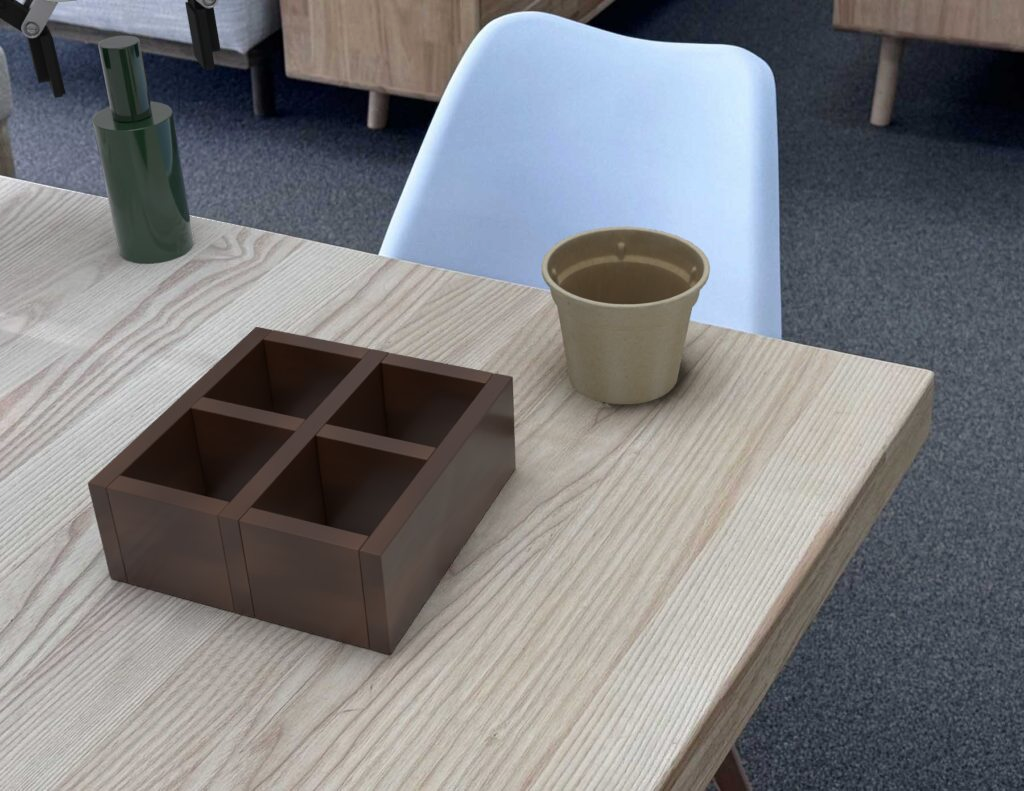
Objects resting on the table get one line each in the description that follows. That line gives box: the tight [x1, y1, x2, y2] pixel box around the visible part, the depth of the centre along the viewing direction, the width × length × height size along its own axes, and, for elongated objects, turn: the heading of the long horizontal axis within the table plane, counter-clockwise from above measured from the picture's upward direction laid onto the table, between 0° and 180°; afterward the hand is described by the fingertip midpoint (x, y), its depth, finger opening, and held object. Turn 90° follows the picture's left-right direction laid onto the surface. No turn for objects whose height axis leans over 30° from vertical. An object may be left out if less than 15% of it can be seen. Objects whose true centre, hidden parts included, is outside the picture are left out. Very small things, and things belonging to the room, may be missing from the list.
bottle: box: [91, 35, 195, 265], centre depth 94 cm, size 5×5×16 cm
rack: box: [87, 326, 517, 655], centre depth 72 cm, size 16×16×6 cm
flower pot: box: [541, 226, 711, 405], centre depth 81 cm, size 9×9×9 cm
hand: (132, 76), depth 91 cm, fingers open, 9 cm apart
